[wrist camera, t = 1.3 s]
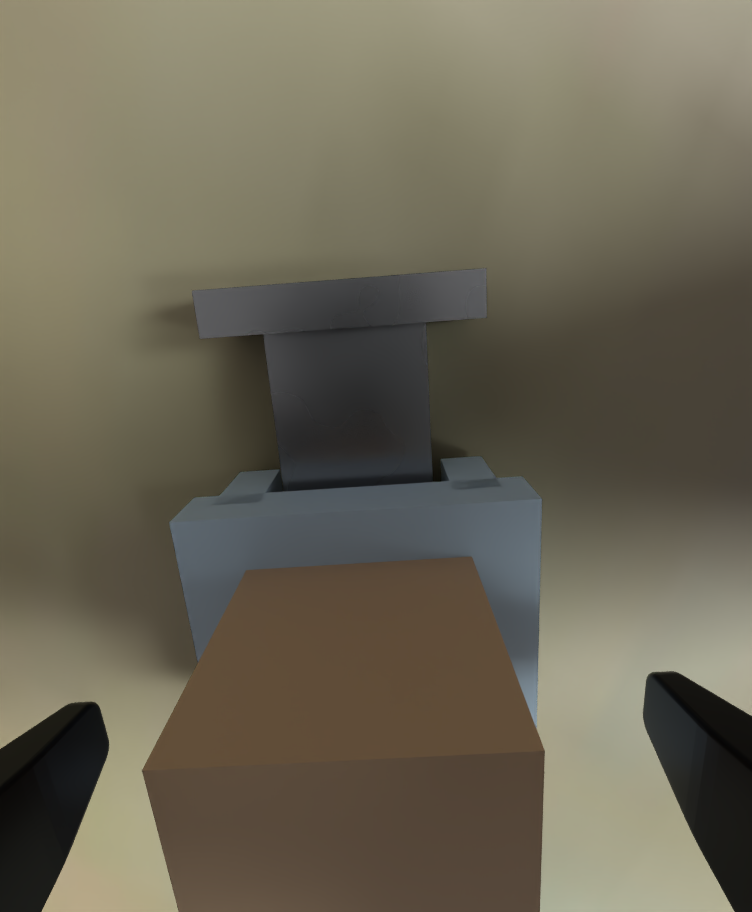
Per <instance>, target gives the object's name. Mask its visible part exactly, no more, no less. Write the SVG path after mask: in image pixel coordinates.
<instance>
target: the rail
mask: <svg viewBox="0 0 752 912" xmlns="http://www.w3.org/2000/svg"><path fill="white" fill-rule="evenodd" d="M192 295H193V301H194V307H195V313H196V319H197V325H198V331H199V337H200V339H203V338H217V337H231V336H244V335H258V334H263V337H264V345H265V352H266V360H267V368H268V375H269V383H270V390H271V398H272V406H273V413H274V421H275V428H276V436H277V444H278V451H279V459H280V466H281V474H282V482H283V489H284V492H286V491H302V490H317V489H333V488H348V487H364V486H379V485H395V484H410V483H426V482H433V477H432V453H431V429H430V405H429V380H428V356H427V332H426V322H435V321H448V320H462V319H475V318H487V286H486V268H483V269H470V270H456V271H443V272H430V273H417V274H404V275H391V276H378V277H365V278H352V279H338V280H325V281H312V282H299V283H286V284H273V285H260V286H247V287H234V288H220V289H207V290H194V291H192Z"/></svg>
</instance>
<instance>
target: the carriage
mask: <svg viewBox="0 0 752 912" xmlns="http://www.w3.org/2000/svg"><path fill="white" fill-rule="evenodd" d="M541 521H542V498H541V497H540V496H539V495H538V494H537V493H536V491H535V490H534V489H533V488H532V487H531V486H530V484H529V483H528V482H527V481H526V480H525V479H524V478H523V476H519V477H504V478H496V477H495V475H494V474H493V472H492V471H491V470H490V468H489V467H488V465H487V464H486V462H485V461H484V460H483V458H482V457H481V456H476V457H461V458H445V459H441V482H426V483H410V484H395V485H379V486H364V487H348V488H333V489H317V490H302V491H286V492H283V488H282V481H281V473H280V469H278V470H263V471H247V472H240V473H239V474H238V475H237V476H236V477H235V479H234V480H233V481H232V482H231V483H230V484H229V485H228V487H227V488H226V489H225V490H224V491H223V492H222V493H221V495H220V496H209V497H194V498H193V499H192V500H191V501H190V502H189V503H188V504H187V505H186V506H185V507H184V508H183V509H182V510H181V511H180V512H179V513H178V514H177V515H176V516H175V517H174V518H173V519H172V520H171V521H170V522H169V524H170V529H171V534H172V539H173V544H174V549H175V554H176V558H177V563H178V568H179V573H180V578H181V583H182V588H183V593H184V598H185V602H186V607H187V612H188V617H189V622H190V627H191V632H192V637H193V642H194V647H195V651H196V656H197V661H198V664H197V666H196V668H195V670H194V672H193V674H192V675H191V677H190V679H189V681H188V683H187V685H186V687H185V689H184V691H183V693H182V695H181V697H180V699H179V700H178V702H177V704H176V706H175V708H174V710H173V712H172V714H171V716H170V718H169V720H168V722H167V724H166V725H165V727H164V729H163V731H162V733H161V735H160V737H159V739H158V741H157V743H156V745H155V747H154V749H153V751H152V752H151V754H150V756H149V758H148V760H147V762H146V764H145V766H144V768H143V770H142V772H143V776H144V780H145V784H146V788H147V791H148V795H149V799H150V803H151V807H152V811H153V814H154V818H155V822H156V826H157V830H158V834H159V838H160V841H161V845H162V849H163V853H164V857H165V861H166V864H167V868H168V872H169V876H170V880H171V884H172V887H173V891H174V895H175V899H176V903H177V907H178V910H179V912H540V887H541V854H542V821H543V789H544V756H545V751H544V748H543V745H542V743H541V740H540V737H539V735H538V732H537V729H536V727H537V686H538V645H539V604H540V562H541Z"/></svg>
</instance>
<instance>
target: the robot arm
mask: <svg viewBox="0 0 752 912" xmlns="http://www.w3.org/2000/svg"><path fill="white" fill-rule="evenodd" d="M643 720H644V724H645V728H646V730H647V733H648V735H649V737H650V740H651V742H652V744H653V747H654V749H655V751H656V753H657V756H658V758H659V760H660V762H661V765H662V767H663V769H664V772H665V774H666V776H667V778H668V781H669V783H670V785H671V787H672V790H673V792H674V794H675V797H676V799H677V801H678V803H679V806H680V808H681V810H682V812H683V815H684V817H685V819H686V821H687V823H688V826H689V828H690V830H691V832H692V834H693V836H694V838H695V840H696V842H697V844H698V846H699V848H700V849H701V851H702V853H703V855H704V857H705V859H706V861H707V862H708V864H709V866H710V868H711V870H712V871H713V873H714V875H715V877H716V879H717V881H718V882H719V884H720V886H721V888H722V890H723V891H724V893H725V895H726V897H727V899H728V901H729V902H730V904H731V906H732V908H733V910H734V911H735V912H752V716H751V715H749V714H747V713H746V712H744V711H742V710H741V709H739V708H737V707H735V706H734V705H732V704H730V703H729V702H727V701H725V700H724V699H722V698H720V697H719V696H717V695H715V694H714V693H712V692H710V691H708V690H707V689H705V688H703V687H702V686H700V685H698V684H697V683H695V682H693V681H692V680H690V679H688V678H687V677H685V676H683V675H681V674H679V673H678V672H674V671H667V672H652V673H650V674H649V675H648V676H647V679H646V687H645V697H644V708H643ZM108 751H109V739H108V735H107V732H106V728H105V724H104V721H103V717H102V714H101V710H100V707H99V706H98V704H97V703H95V702H75V703H70V704H68V705H66V706H64V707H63V708H61V709H60V710H58V711H57V712H55V713H54V714H52V715H51V716H49V717H48V718H46V719H45V720H43V721H42V722H40V723H39V724H37V725H36V726H34V727H33V728H31V729H30V730H28V731H27V732H25V733H24V734H22V735H21V736H19V737H18V738H16V739H15V740H13V741H12V742H10V743H9V744H7V745H6V746H4V747H3V748H1V749H0V912H41V911H42V909H43V907H44V905H45V903H46V901H47V899H48V897H49V895H50V893H51V891H52V889H53V887H54V885H55V883H56V881H57V879H58V876H59V874H60V872H61V870H62V868H63V866H64V864H65V861H66V859H67V857H68V854H69V852H70V850H71V847H72V845H73V842H74V840H75V837H76V835H77V832H78V830H79V827H80V825H81V822H82V819H83V817H84V814H85V812H86V809H87V807H88V804H89V802H90V799H91V796H92V794H93V791H94V789H95V786H96V784H97V781H98V779H99V776H100V774H101V771H102V768H103V766H104V763H105V761H106V758H107V755H108Z"/></svg>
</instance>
